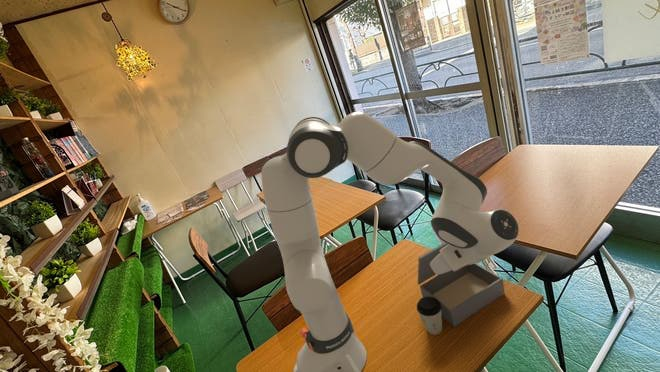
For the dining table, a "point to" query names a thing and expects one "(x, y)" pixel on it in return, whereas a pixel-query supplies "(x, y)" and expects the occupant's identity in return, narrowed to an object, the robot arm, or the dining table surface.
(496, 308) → the dining table surface
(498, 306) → the dining table surface
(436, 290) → the mailer box
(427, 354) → the dining table surface
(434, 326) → the coffee cup
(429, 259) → the mailer lid
